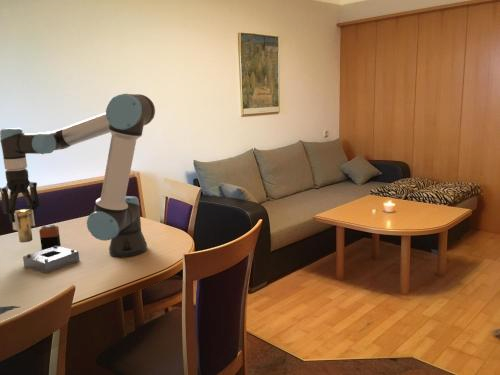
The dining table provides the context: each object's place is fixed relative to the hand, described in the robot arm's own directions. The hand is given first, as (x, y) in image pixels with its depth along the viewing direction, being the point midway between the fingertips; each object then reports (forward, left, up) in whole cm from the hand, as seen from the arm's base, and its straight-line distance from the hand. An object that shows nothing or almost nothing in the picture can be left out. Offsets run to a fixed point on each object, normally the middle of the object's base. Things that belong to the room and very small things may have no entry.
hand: (24, 227), depth 166 cm
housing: (-12, -2, -14) cm, 18 cm away
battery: (+5, -13, -14) cm, 20 cm away
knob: (0, 0, -5) cm, 5 cm away
